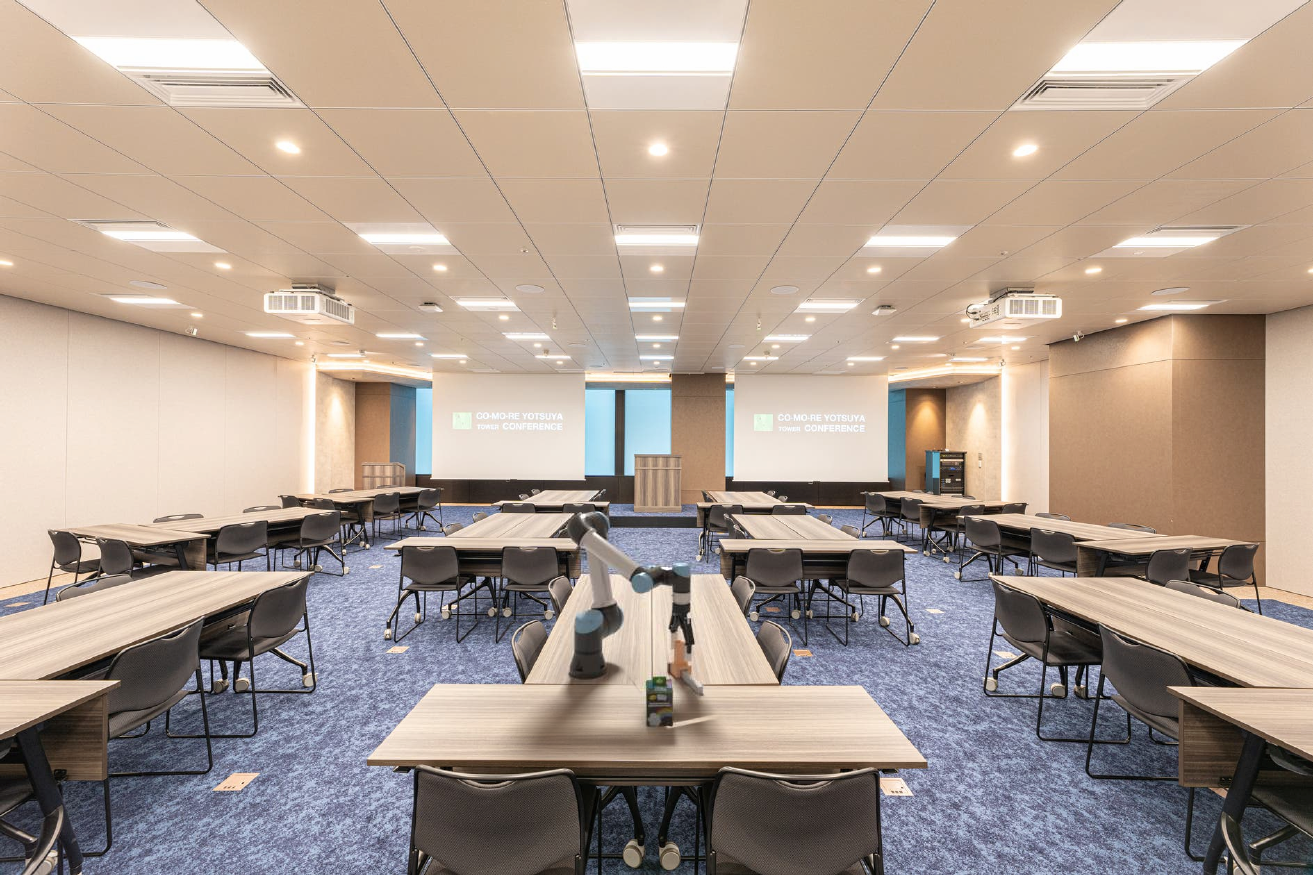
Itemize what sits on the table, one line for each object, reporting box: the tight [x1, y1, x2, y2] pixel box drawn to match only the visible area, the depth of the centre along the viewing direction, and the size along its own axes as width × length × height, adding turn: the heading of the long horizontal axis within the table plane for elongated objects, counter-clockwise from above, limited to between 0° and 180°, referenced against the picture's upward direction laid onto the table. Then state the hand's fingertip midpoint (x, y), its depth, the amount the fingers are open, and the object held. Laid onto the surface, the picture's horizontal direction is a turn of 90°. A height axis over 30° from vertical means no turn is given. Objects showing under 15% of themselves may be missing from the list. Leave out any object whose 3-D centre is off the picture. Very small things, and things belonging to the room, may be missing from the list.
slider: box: [669, 639, 692, 679], centre depth 200 cm, size 6×7×13 cm
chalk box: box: [645, 675, 674, 727], centre depth 167 cm, size 9×9×15 cm
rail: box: [666, 661, 704, 695], centre depth 194 cm, size 25×12×4 cm, turn 22°
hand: (680, 654), depth 201 cm, fingers open, 13 cm apart
